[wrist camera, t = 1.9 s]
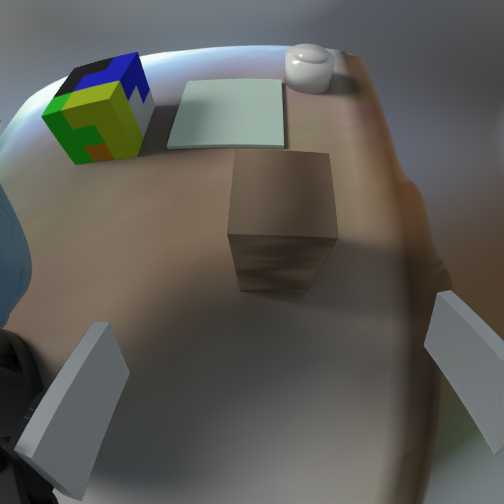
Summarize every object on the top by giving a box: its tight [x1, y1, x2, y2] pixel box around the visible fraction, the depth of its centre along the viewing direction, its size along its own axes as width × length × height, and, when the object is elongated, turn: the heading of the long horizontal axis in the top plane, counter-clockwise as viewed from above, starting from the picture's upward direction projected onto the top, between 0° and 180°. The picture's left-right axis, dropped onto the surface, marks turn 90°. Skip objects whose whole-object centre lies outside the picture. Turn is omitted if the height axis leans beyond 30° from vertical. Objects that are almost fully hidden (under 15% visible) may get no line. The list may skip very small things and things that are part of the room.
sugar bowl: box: [284, 44, 335, 94], centre depth 36 cm, size 7×7×6 cm
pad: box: [167, 79, 284, 149], centre depth 36 cm, size 14×14×1 cm
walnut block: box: [227, 150, 338, 293], centre depth 22 cm, size 6×6×12 cm
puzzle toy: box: [41, 52, 155, 165], centre depth 31 cm, size 10×10×10 cm
